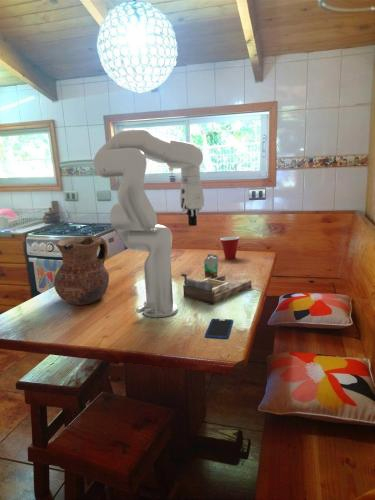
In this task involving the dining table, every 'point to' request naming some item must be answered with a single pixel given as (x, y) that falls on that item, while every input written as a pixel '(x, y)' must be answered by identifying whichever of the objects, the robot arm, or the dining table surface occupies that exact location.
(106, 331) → the dining table surface
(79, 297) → the jug
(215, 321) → the cell phone
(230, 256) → the plastic cup
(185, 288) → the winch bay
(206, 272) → the food container
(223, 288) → the crate
